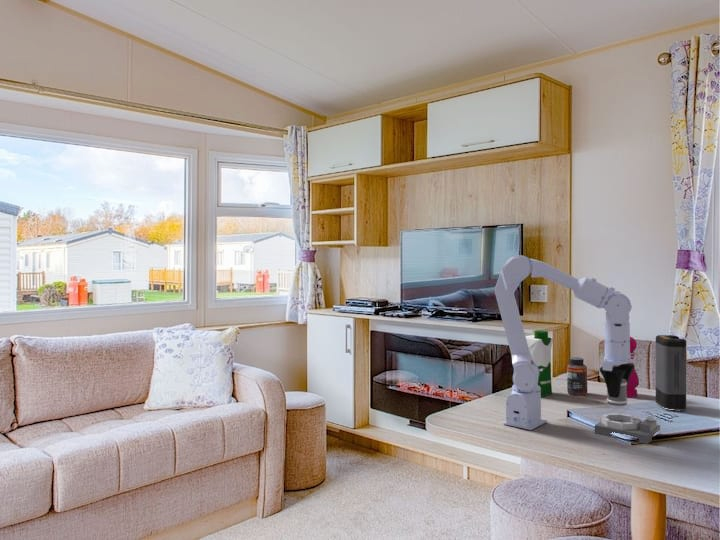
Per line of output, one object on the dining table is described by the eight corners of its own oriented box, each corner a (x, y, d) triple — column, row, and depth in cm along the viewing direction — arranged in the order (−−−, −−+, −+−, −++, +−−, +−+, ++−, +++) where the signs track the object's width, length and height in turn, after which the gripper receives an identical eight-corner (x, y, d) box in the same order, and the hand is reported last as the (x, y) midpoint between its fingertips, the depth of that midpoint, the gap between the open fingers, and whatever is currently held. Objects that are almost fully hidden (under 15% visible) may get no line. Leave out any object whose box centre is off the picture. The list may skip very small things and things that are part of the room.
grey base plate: (647, 444, 128) (647, 425, 128) (594, 433, 136) (594, 415, 136) (660, 433, 135) (660, 415, 135) (609, 423, 144) (609, 407, 144)
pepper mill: (608, 393, 174) (607, 330, 173) (624, 391, 177) (624, 328, 176) (627, 399, 167) (627, 333, 167) (644, 396, 170) (644, 331, 170)
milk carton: (539, 398, 169) (539, 333, 169) (515, 392, 177) (514, 330, 176) (556, 393, 175) (556, 330, 174) (532, 388, 182) (531, 328, 181)
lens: (622, 406, 135) (622, 382, 135) (603, 403, 138) (603, 379, 138) (630, 403, 138) (629, 379, 138) (611, 399, 141) (611, 376, 141)
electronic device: (688, 412, 153) (688, 340, 152) (664, 411, 154) (664, 339, 154) (676, 403, 162) (676, 335, 161) (654, 402, 163) (654, 334, 163)
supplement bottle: (584, 391, 177) (584, 356, 177) (590, 396, 171) (589, 359, 171) (564, 391, 178) (564, 356, 177) (570, 396, 172) (569, 359, 172)
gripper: (624, 346, 130) (624, 403, 130) (643, 338, 140) (643, 391, 140) (593, 343, 134) (594, 398, 135) (614, 336, 145) (614, 387, 145)
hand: (617, 394), depth 138 cm, fingers closed on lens, 4 cm apart
